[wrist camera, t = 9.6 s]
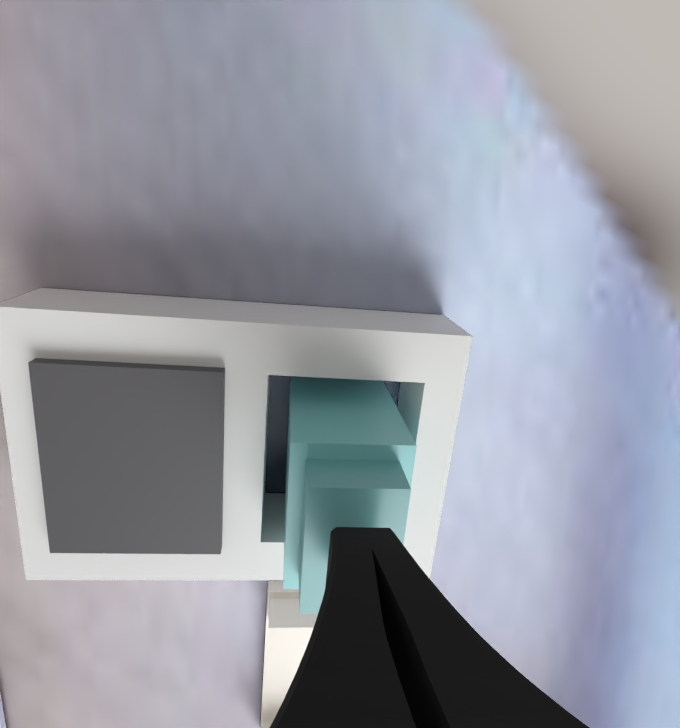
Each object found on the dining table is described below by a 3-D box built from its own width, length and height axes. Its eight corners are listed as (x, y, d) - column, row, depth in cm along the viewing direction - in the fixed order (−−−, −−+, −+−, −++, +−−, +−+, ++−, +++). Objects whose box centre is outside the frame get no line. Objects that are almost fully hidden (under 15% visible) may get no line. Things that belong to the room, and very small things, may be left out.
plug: (285, 485, 18) (282, 628, 12) (290, 372, 17) (290, 469, 11) (369, 487, 19) (407, 625, 13) (381, 376, 17) (430, 472, 11)
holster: (260, 728, 22) (257, 777, 20) (268, 580, 20) (265, 621, 18) (369, 724, 23) (376, 771, 21) (390, 580, 20) (400, 620, 18)
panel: (64, 524, 18) (19, 589, 15) (40, 287, 15) (-21, 309, 12) (410, 529, 20) (432, 589, 16) (444, 315, 17) (477, 339, 14)
